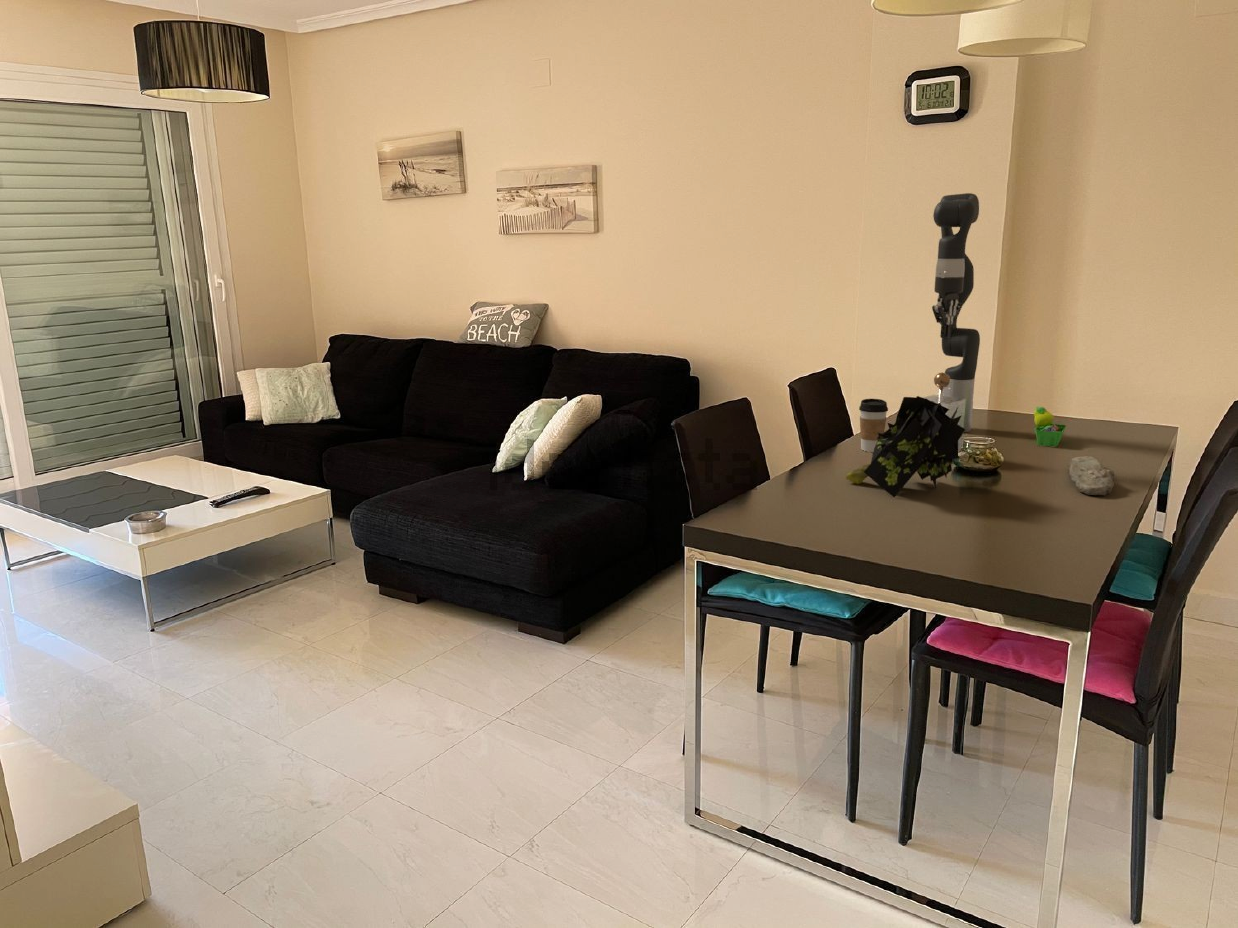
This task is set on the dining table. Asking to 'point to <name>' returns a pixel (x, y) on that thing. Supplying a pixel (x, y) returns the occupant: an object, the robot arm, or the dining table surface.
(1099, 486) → the elongated rock
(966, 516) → the dining table surface
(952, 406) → the press
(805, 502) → the dining table surface
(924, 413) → the black leafy clump
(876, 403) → the coffee cup
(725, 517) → the dining table surface
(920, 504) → the dining table surface
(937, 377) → the plunger
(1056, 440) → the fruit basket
